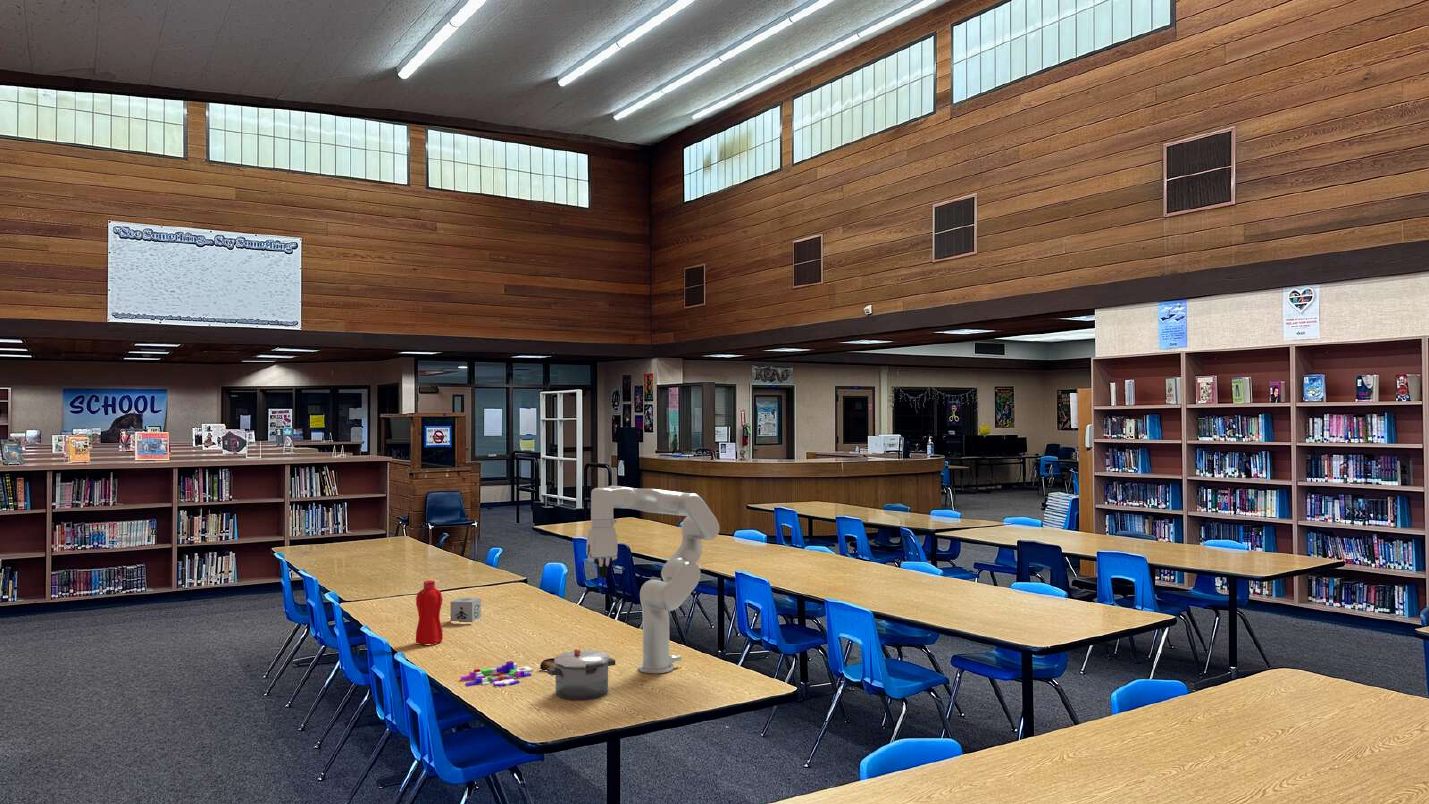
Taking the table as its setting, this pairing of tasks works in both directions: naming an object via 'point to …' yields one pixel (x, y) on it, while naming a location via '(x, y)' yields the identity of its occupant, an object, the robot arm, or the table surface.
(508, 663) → the building block set
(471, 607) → the icon cube
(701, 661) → the table surface
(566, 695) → the pot
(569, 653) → the lid
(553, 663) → the sunglasses case
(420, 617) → the water bottle
